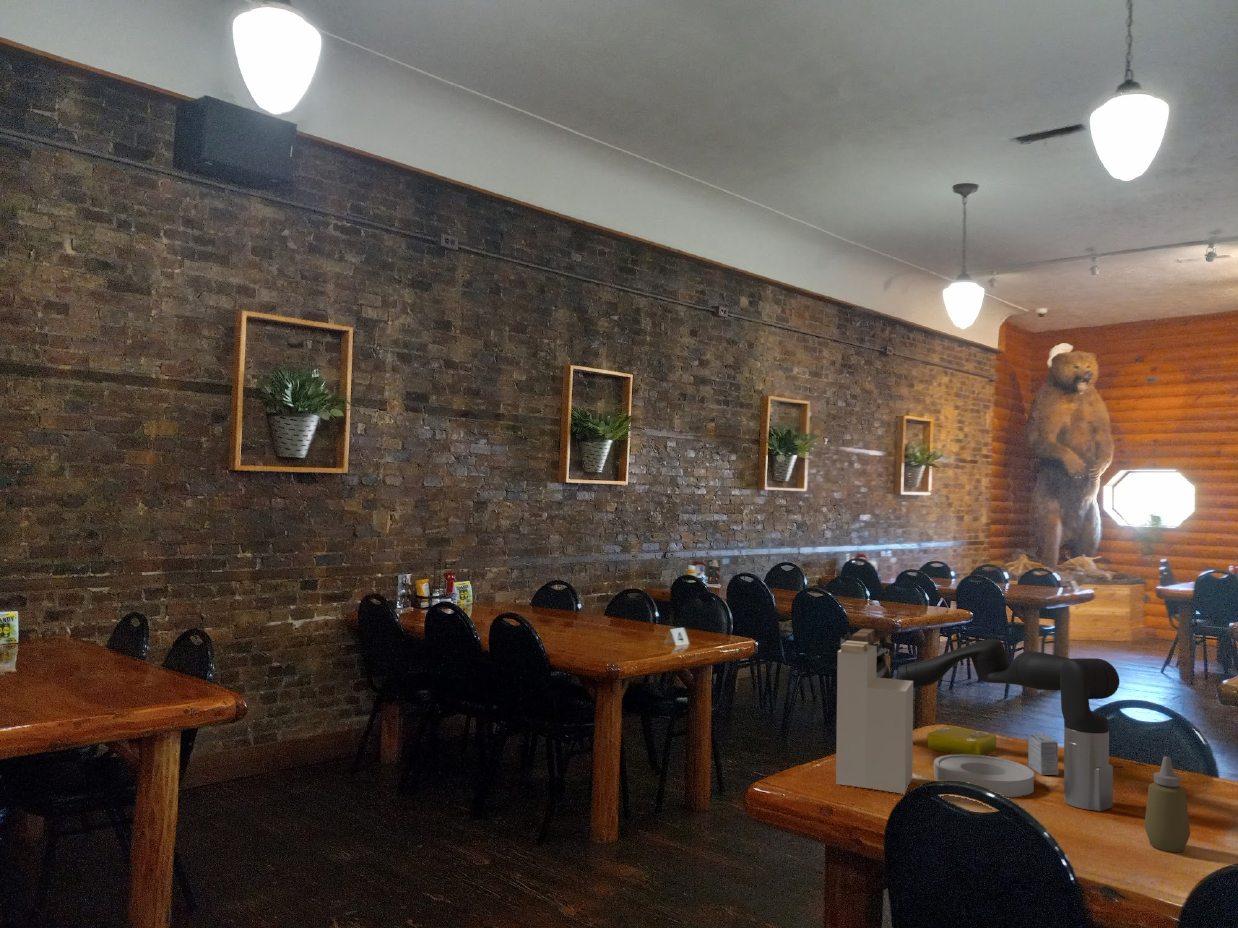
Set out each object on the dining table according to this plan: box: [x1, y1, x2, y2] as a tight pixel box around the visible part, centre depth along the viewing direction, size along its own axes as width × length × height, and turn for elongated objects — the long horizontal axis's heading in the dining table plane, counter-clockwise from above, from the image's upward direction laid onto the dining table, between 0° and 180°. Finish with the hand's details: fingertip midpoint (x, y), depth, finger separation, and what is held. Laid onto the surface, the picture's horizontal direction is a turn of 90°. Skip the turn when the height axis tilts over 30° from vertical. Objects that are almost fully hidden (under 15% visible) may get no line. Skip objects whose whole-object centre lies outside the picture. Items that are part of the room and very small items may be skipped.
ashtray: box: [933, 754, 1036, 798], centre depth 227 cm, size 23×23×4 cm
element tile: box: [926, 725, 997, 756], centre depth 259 cm, size 15×15×5 cm
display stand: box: [835, 645, 914, 796], centre depth 226 cm, size 15×16×32 cm
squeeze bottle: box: [1143, 755, 1191, 853], centre depth 185 cm, size 8×8×18 cm
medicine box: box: [1027, 733, 1059, 776], centre depth 237 cm, size 8×4×9 cm, turn 179°
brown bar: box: [841, 628, 875, 654], centre depth 232 cm, size 24×5×3 cm, turn 156°
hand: (864, 636), depth 242 cm, fingers open, 8 cm apart
